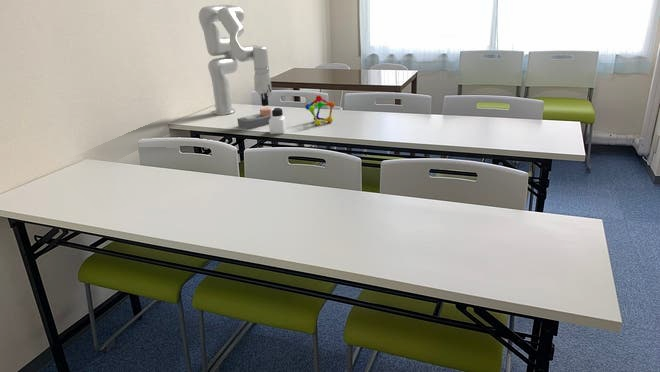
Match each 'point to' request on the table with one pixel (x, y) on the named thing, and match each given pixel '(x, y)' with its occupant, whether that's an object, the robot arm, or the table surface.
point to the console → (254, 121)
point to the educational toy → (320, 104)
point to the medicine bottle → (277, 121)
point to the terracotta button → (265, 112)
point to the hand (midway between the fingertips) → (265, 105)
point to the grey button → (250, 117)
